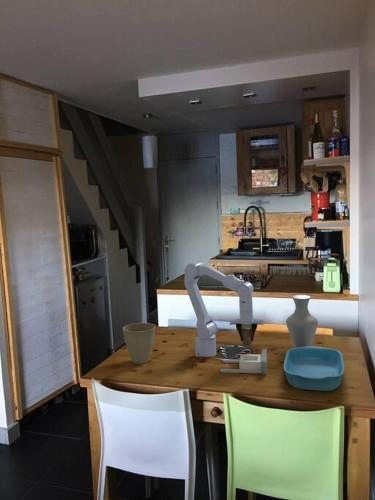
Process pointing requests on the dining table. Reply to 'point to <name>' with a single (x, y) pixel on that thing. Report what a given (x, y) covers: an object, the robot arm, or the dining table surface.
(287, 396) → the dining table surface
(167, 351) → the dining table surface
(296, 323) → the vase
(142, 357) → the plant pot
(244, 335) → the dowel
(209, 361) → the dining table surface
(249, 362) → the sliding block
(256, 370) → the slide board
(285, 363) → the casserole dish
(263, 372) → the stop wall
